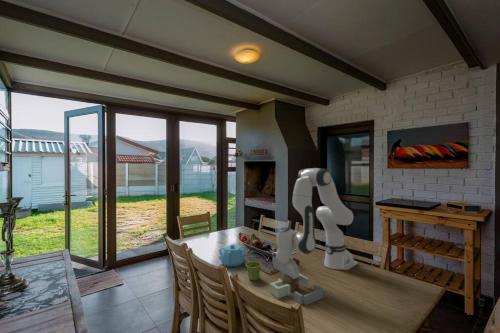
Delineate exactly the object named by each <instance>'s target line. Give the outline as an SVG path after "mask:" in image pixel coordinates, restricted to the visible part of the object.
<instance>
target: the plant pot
mask: <svg viewBox="0 0 500 333" xmlns="http://www.w3.org/2000/svg"><path fill="white" fill-rule="evenodd" d="M245 266H246V268H247V274H248V278H249V280H250V281H258V280H259V279H260V272H261V266H262V262H260V261H256V260H252V261H248V262H247V263H245Z"/></svg>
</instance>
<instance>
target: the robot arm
mask: <svg viewBox="0 0 500 333" xmlns="http://www.w3.org/2000/svg"><path fill="white" fill-rule="evenodd" d="M334 181H335V180H334V179H333V177H332V174H331V172H330V171H329V170H328V169H326V168H320V167H319V168H318V167H313V168H312V167H311V168H307V167H306V168H302V169H301V170H299V171H298V174H297V179H296V181H295V183H294V186H293V192H292V200H291V201H292V206H293V207H294V209H295V211H297V212H298V213H299V214H300V215H301V217H302V220H303V224H302V225H303V228H302V231H303V232H301V231H298V230H294V229H292V228H291V227H288V226H283V227H281V228H279V229H278V230H277V235H276V246H277V249H276V251H274V252H272V266H273V268H274V269H276V270H278V271H279V272H280V273H281V275H282V281H284V275H288V276H289V277H291V278H293V279H296V278H298V277H299V273H300V271H299V265H298V264H297V262H296V260H294V254H293V250H294V249H296V250H298V251H300V252H301V253H303V254H305V255H310V254H312V253H313V252H314V251H315V249H316V247H317V246H316V245H317V242H316V237H315V216H316V219H317V220H318V221H319V222H320V223H321V224H322V226H323V229H324V232H325V245H324V246H325V252H324V255H325V256H324V260H323V261H324V263H323V264H324V266H325V267H327V268H329V269H332V270H343V271H348V270H350V269H352V268H353V267H355V266H356V265H358V262H357V261H356V260H355V259H354V255H353V254H352V253H351V252H350V251H348V250H347V248H349V245H348V244H347V243H344V233H343V230H341V229H340V228H339V227H338V225H341V226H349V225H351V224H352V223H353V220H354V213H353V211H352V210H351V209H349V208H348V207H346V206H345V205H344V203H343V201H341V199H340V197H339V194H338V192H337V188H336V184H335V182H334ZM313 187H317V191H318V192H317V193H318V195H319V198H320V201H321V203H322V204H323V206H322V205H321V206H318V207H317V209H316V211H314V208H313V204H312V203H313V202H312V201H313V200H312V197H313Z"/></svg>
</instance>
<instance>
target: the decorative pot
mask: <svg viewBox="0 0 500 333" xmlns="http://www.w3.org/2000/svg"><path fill="white" fill-rule="evenodd" d="M222 250H223V252H222ZM246 253H247V251H246V249H245V248H242V247H241V246H240V245H237V244H234V243H232V244H229V245H226V246H225V247H220V249H219V254H220V256H219V257H218V259H219V260H220V262H221V264H222V265H223V264H224V266H225V265H226V266H227V267H234V268H238V267H240V266H241V265H242V264H243V262H247V257H246ZM226 266H225V267H226Z"/></svg>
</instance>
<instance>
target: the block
mask: <svg viewBox="0 0 500 333" xmlns="http://www.w3.org/2000/svg"><path fill="white" fill-rule="evenodd" d="M285 284H289V285H290V292H291V291H294V290H299V289H300V284H299V277H298V278H296V279H293V278H291V277H289V276H288V275H284V280H283V285H285Z"/></svg>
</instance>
